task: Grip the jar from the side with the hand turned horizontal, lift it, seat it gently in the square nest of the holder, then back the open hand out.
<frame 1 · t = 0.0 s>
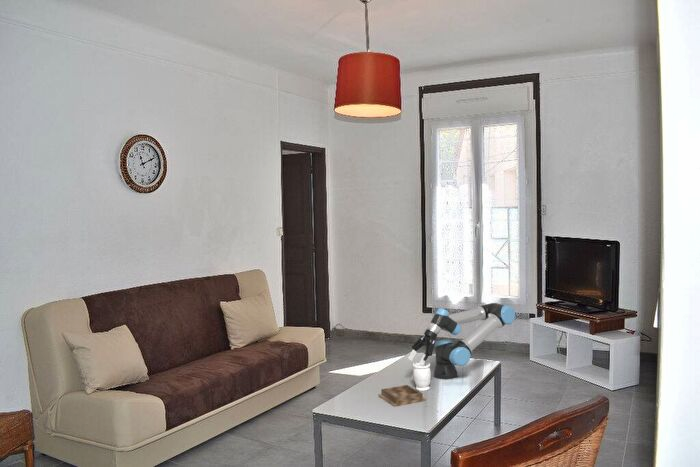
hand: (415, 362, 328), 16 cm above the table, tool tilted 35°, fingers open, 13 cm apart
jar: (422, 389, 327), on the table, touching gripper
holder: (401, 398, 311), on the table
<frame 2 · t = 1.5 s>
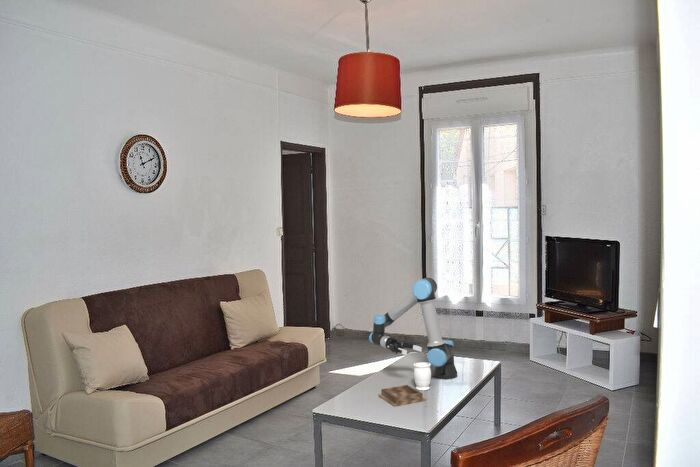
hand: (414, 351, 333), 21 cm above the table, tool horizontal, fingers open, 13 cm apart
jar: (422, 389, 327), on the table
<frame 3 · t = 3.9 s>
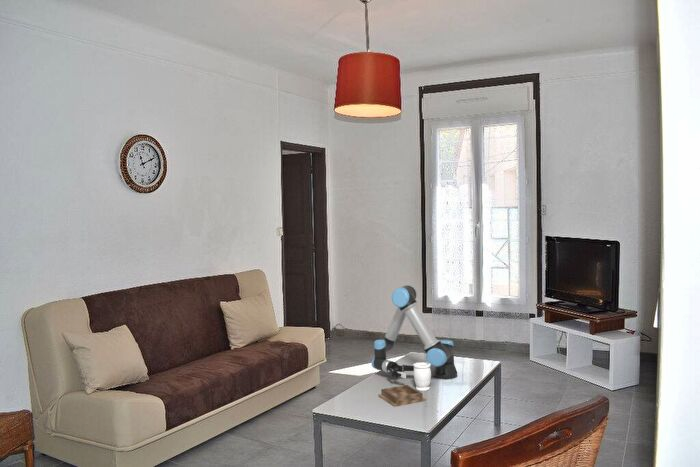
hand: (413, 373, 332), 8 cm above the table, tool horizontal, fingers open, 13 cm apart
nothing on the table moved.
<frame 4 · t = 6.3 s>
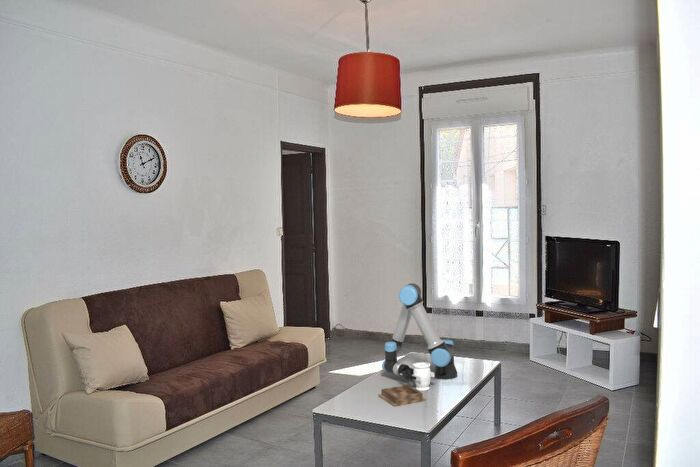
hand: (427, 377, 324), 8 cm above the table, tool horizontal, fingers closed on jar, 10 cm apart
jar: (422, 389, 327), on the table, touching gripper
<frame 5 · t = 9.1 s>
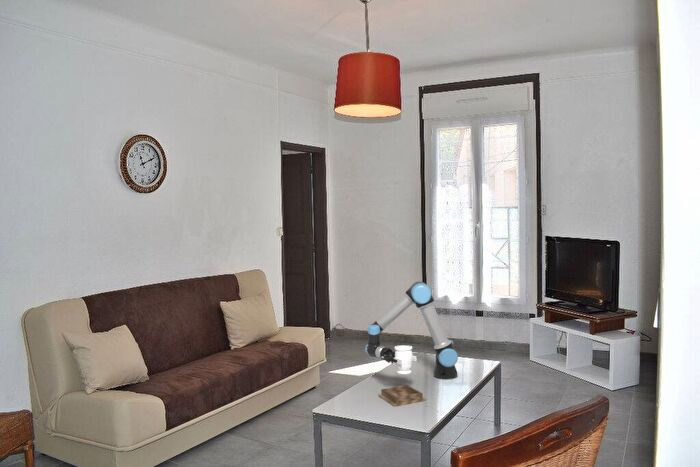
hand: (408, 360, 314), 21 cm above the table, tool horizontal, fingers closed on jar, 10 cm apart
jar: (404, 372, 318), point 13 cm above the table, touching gripper
when the fingers open (10 cm above the table, at t = 12.0 s): jar drops 1 cm, resting on holder.
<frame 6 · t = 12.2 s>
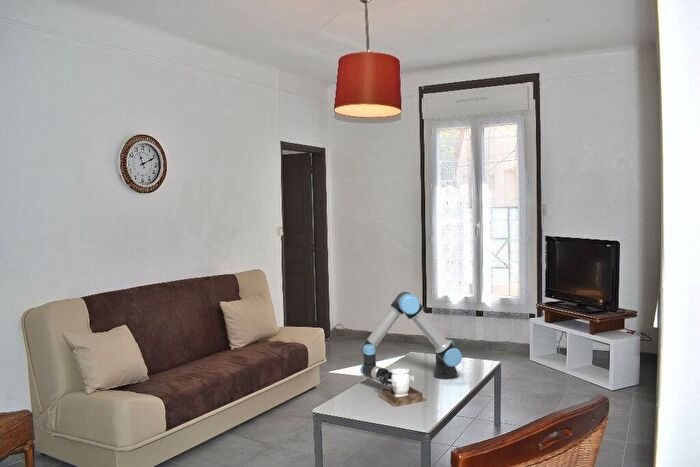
hand: (405, 381, 308), 10 cm above the table, tool horizontal, fingers open, 13 cm apart
jar: (401, 396, 312), point 1 cm above the table, touching holder
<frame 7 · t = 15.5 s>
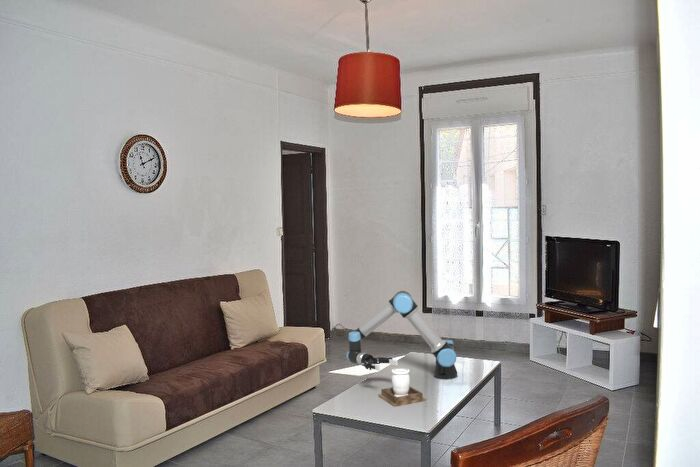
hand: (388, 365, 319), 17 cm above the table, tool horizontal, fingers open, 13 cm apart
nothing on the table moved.
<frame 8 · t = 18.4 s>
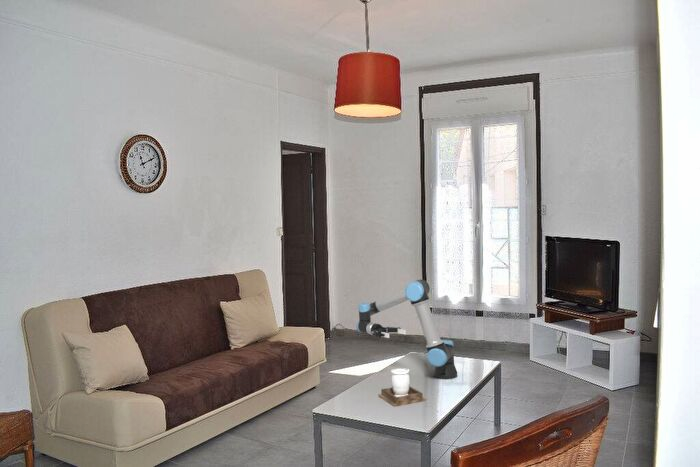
hand: (397, 333, 335), 32 cm above the table, tool horizontal, fingers open, 13 cm apart
nothing on the table moved.
at the end: jar 0.3 cm off-centre on the holder, point 1.0 cm above the holder's base; jar tilted 0°; the gripper is holding nothing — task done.
